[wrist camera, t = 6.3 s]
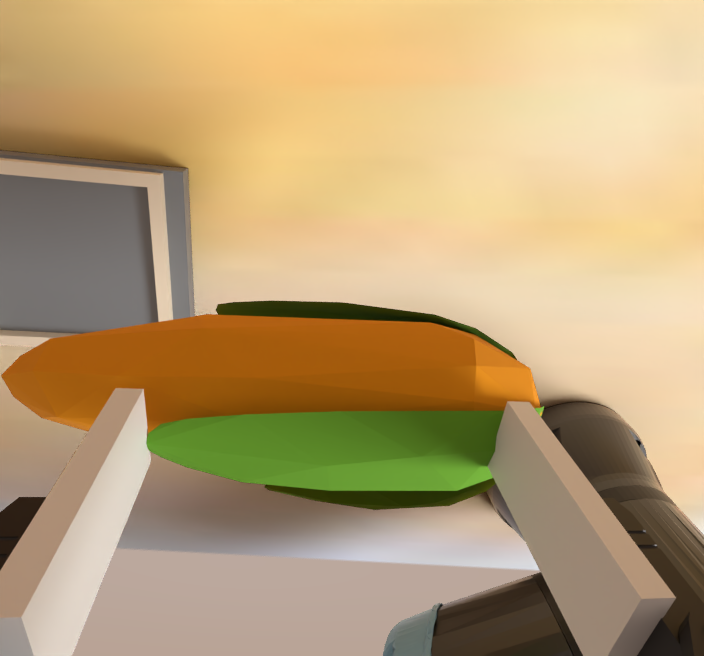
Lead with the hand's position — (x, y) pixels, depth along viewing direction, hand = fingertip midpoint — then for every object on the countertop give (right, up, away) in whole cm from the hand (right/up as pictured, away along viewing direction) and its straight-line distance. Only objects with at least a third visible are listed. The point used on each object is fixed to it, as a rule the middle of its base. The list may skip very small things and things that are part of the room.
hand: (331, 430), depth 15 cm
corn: (-2, +2, +7) cm, 7 cm away
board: (-18, +8, +18) cm, 27 cm away
